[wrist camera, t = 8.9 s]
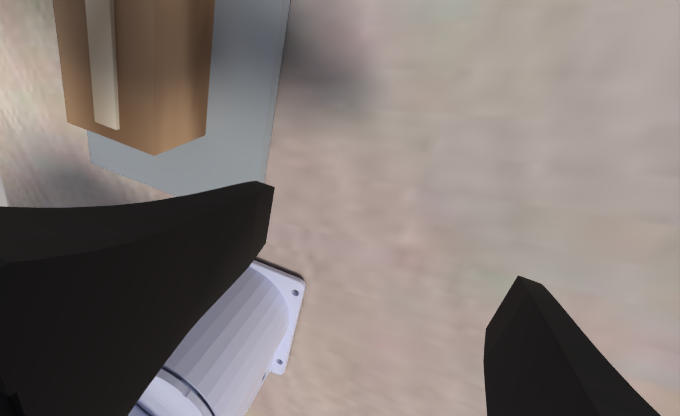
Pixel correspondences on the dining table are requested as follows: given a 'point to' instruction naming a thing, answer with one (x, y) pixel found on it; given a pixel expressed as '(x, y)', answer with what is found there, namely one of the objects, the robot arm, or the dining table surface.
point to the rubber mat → (219, 109)
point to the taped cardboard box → (137, 68)
